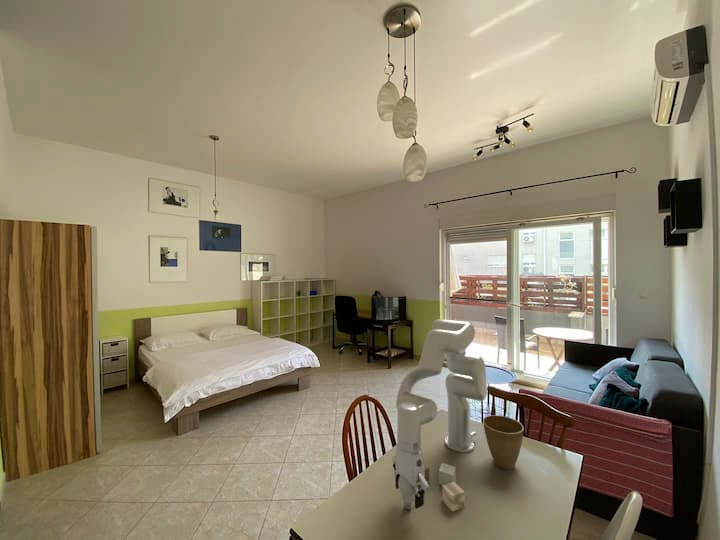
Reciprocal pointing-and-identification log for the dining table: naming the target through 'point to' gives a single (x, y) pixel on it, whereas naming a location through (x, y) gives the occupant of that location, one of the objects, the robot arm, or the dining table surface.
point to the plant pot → (503, 439)
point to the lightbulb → (406, 492)
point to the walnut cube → (426, 473)
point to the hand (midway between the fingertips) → (409, 496)
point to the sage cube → (447, 474)
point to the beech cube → (453, 496)
